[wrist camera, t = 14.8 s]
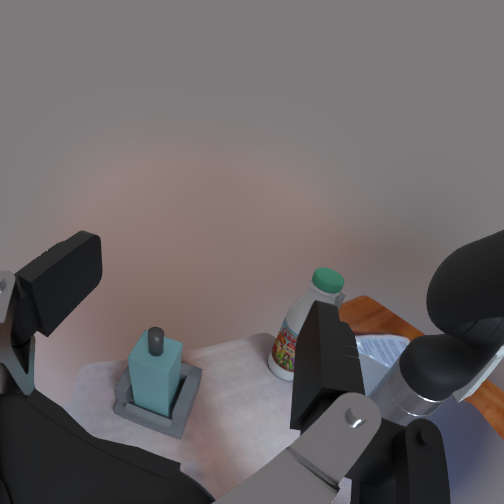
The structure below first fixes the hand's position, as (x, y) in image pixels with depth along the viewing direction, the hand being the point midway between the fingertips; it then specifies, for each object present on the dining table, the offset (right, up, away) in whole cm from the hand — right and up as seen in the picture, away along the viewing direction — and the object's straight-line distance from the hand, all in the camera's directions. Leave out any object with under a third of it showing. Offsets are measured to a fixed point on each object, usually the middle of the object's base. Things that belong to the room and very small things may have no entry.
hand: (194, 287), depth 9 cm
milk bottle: (+8, -20, +38) cm, 43 cm away
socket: (-12, -20, +25) cm, 34 cm away
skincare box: (+51, -32, +35) cm, 70 cm away
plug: (-11, -20, +24) cm, 33 cm away
